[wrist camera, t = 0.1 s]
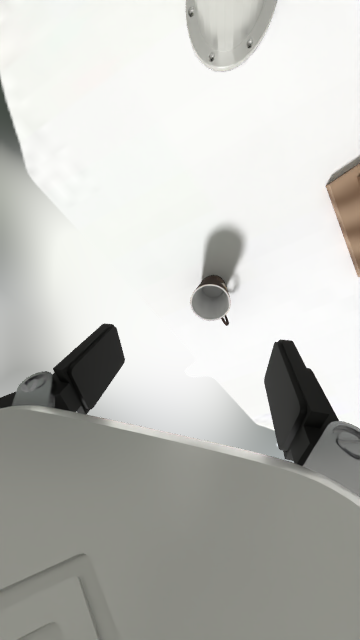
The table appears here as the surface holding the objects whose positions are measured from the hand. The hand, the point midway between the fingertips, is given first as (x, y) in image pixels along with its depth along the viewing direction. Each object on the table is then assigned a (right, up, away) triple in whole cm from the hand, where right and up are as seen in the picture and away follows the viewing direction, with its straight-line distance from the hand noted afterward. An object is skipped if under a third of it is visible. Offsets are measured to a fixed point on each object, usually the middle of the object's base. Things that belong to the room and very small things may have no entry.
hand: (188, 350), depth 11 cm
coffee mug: (+9, +9, +37) cm, 39 cm away
